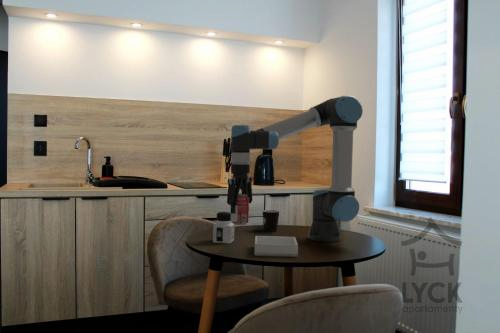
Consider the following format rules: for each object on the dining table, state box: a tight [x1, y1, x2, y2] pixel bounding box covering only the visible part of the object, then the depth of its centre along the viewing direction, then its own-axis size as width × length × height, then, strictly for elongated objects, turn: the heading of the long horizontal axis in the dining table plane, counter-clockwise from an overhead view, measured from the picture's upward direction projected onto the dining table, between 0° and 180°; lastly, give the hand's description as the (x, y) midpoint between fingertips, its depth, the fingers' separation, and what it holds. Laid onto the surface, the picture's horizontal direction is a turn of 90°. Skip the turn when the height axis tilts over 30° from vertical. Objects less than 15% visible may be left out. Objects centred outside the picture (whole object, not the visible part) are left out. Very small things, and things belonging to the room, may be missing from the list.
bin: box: [254, 235, 299, 258], centre depth 184 cm, size 17×17×4 cm
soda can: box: [231, 193, 250, 226], centre depth 185 cm, size 7×7×12 cm
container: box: [212, 211, 235, 244], centre depth 201 cm, size 8×8×13 cm
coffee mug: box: [261, 209, 280, 233], centre depth 233 cm, size 12×9×10 cm
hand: (239, 220), depth 185 cm, fingers closed on soda can, 7 cm apart
